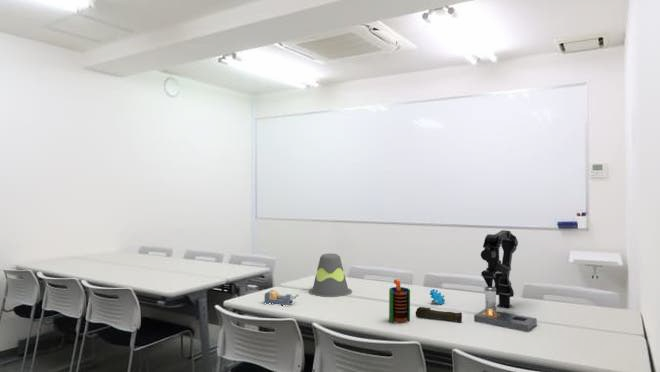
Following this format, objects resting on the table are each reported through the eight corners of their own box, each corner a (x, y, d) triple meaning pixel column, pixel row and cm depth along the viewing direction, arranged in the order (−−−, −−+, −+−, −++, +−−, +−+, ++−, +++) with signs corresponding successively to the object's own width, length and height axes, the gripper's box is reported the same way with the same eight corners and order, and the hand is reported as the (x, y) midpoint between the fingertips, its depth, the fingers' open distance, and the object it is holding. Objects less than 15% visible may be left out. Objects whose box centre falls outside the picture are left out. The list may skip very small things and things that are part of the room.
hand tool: (462, 321, 213) (462, 309, 213) (461, 323, 208) (461, 312, 208) (417, 315, 222) (417, 305, 222) (415, 318, 218) (414, 307, 218)
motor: (395, 324, 207) (395, 283, 207) (385, 319, 215) (384, 279, 215) (412, 321, 211) (412, 280, 212) (401, 316, 219) (401, 277, 219)
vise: (262, 304, 244) (262, 293, 245) (271, 300, 254) (271, 289, 254) (291, 307, 239) (291, 295, 239) (299, 302, 249) (299, 291, 249)
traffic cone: (353, 297, 260) (352, 257, 261) (307, 297, 261) (306, 257, 261) (351, 286, 288) (351, 251, 288) (309, 287, 288) (309, 251, 289)
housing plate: (485, 314, 222) (485, 308, 222) (536, 324, 205) (536, 317, 205) (474, 321, 211) (474, 314, 211) (527, 332, 195) (527, 324, 195)
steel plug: (490, 312, 215) (490, 286, 215) (498, 314, 211) (498, 288, 211) (483, 313, 213) (482, 287, 213) (491, 316, 209) (490, 289, 209)
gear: (436, 303, 238) (428, 288, 245) (430, 309, 242) (422, 294, 248) (449, 303, 244) (441, 288, 251) (443, 309, 248) (435, 294, 254)
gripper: (502, 262, 214) (503, 293, 214) (515, 257, 228) (515, 287, 228) (480, 260, 221) (481, 290, 221) (494, 255, 235) (494, 284, 235)
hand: (493, 288), depth 226 cm, fingers open, 9 cm apart
